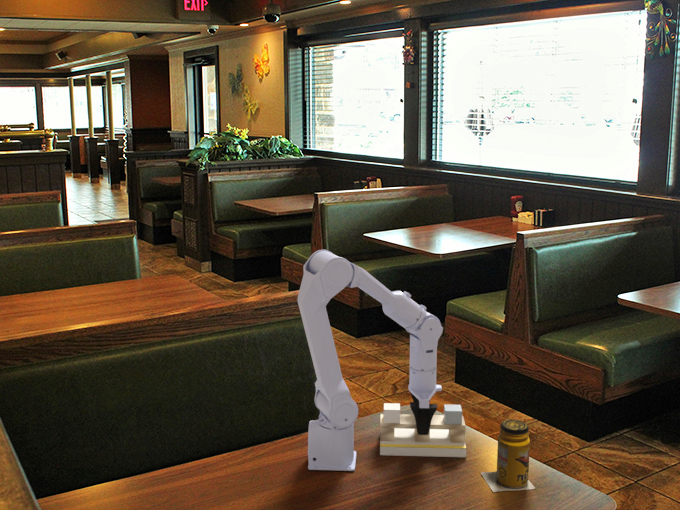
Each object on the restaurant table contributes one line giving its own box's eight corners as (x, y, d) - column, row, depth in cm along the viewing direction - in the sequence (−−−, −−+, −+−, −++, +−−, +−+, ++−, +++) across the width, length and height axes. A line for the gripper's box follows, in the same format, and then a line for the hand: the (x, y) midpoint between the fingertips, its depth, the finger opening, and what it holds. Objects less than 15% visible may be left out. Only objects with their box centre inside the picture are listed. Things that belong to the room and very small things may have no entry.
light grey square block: (445, 424, 148) (445, 410, 148) (443, 417, 152) (444, 404, 151) (461, 424, 148) (462, 411, 148) (460, 417, 152) (460, 404, 151)
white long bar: (380, 440, 150) (380, 423, 149) (380, 430, 155) (380, 413, 154) (465, 443, 149) (465, 425, 148) (462, 432, 153) (463, 415, 153)
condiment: (535, 489, 134) (538, 430, 132) (493, 492, 133) (495, 433, 130) (520, 470, 141) (523, 415, 139) (480, 474, 140) (482, 417, 137)
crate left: (383, 422, 149) (383, 409, 149) (383, 416, 153) (383, 403, 152) (400, 423, 149) (400, 410, 149) (399, 416, 153) (399, 403, 152)
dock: (380, 455, 148) (380, 445, 147) (380, 434, 158) (380, 425, 157) (466, 457, 147) (466, 447, 146) (461, 436, 156) (461, 427, 156)
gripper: (444, 379, 141) (443, 441, 144) (439, 355, 155) (438, 412, 158) (409, 378, 142) (408, 441, 144) (407, 355, 156) (406, 412, 158)
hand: (422, 426), depth 151 cm, fingers open, 7 cm apart
